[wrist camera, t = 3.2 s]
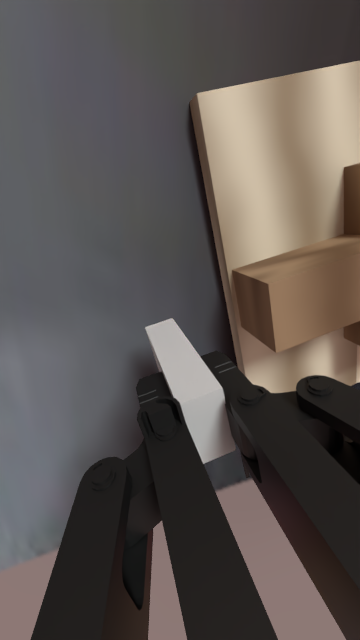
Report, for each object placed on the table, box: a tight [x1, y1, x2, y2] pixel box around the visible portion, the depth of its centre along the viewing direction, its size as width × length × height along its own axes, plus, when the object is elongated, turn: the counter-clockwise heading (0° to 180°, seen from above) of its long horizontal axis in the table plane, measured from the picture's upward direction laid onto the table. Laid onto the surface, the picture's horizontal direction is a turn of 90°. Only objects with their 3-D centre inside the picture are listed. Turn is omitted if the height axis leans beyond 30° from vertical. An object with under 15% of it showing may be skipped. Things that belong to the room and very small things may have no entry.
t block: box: [232, 163, 360, 353], centre depth 17 cm, size 12×12×4 cm
